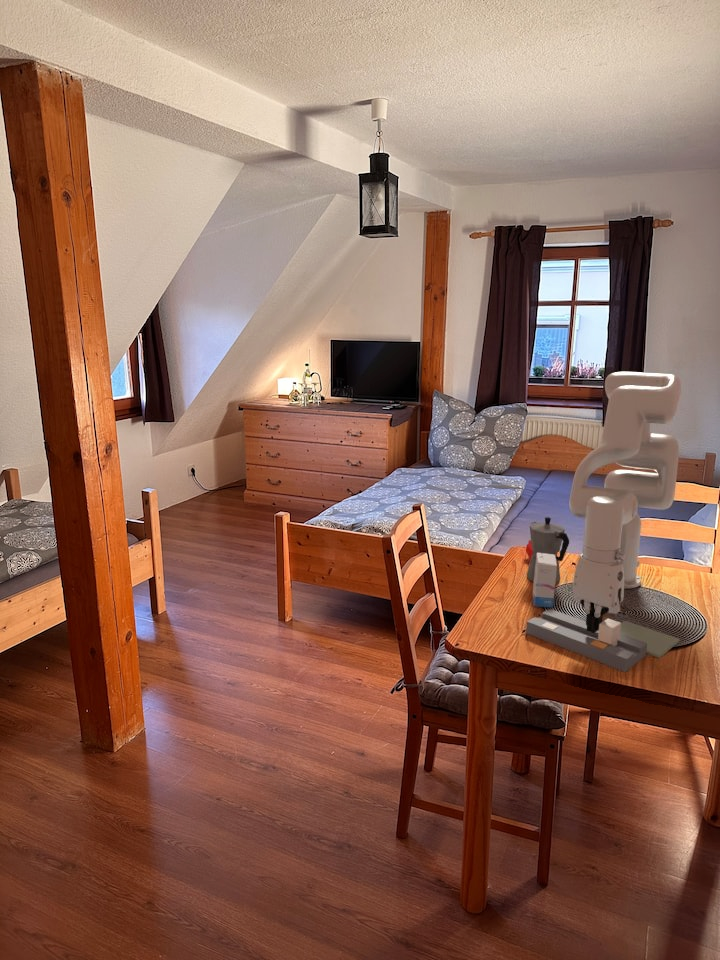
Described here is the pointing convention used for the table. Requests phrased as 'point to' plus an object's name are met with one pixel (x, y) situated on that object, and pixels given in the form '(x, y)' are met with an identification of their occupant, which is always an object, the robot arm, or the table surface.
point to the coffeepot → (547, 543)
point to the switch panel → (585, 640)
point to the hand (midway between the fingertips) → (593, 630)
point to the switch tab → (609, 632)
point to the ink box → (544, 580)
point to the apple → (529, 550)
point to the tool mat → (649, 638)
